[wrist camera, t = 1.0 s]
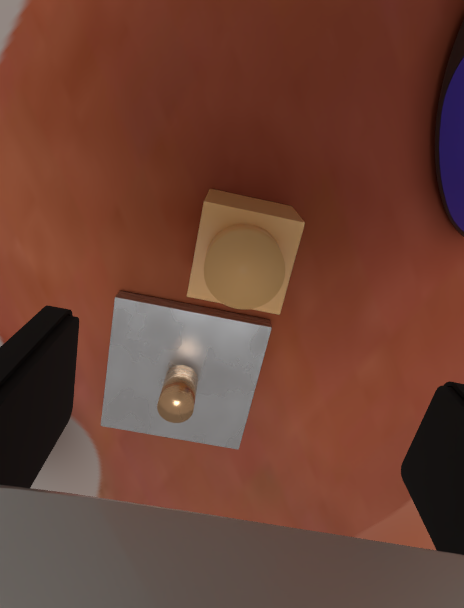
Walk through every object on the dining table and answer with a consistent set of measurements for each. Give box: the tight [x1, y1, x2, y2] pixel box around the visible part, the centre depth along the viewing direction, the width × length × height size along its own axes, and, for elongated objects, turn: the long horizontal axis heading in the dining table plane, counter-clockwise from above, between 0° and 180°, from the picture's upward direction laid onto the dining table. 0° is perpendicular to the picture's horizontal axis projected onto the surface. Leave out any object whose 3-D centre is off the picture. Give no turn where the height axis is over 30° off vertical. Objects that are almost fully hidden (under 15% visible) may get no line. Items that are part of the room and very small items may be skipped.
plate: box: [101, 291, 272, 449], centre depth 27 cm, size 10×10×4 cm
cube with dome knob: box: [187, 189, 305, 315], centre depth 23 cm, size 5×5×7 cm
